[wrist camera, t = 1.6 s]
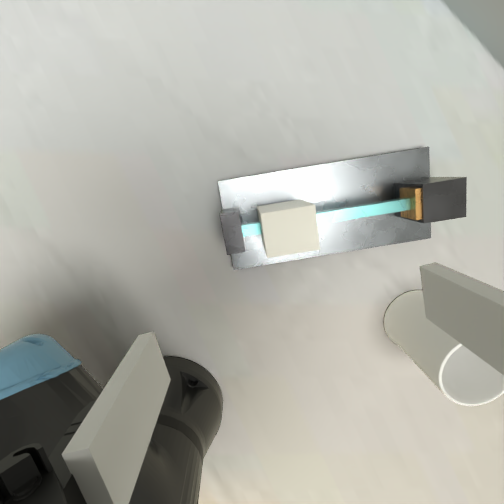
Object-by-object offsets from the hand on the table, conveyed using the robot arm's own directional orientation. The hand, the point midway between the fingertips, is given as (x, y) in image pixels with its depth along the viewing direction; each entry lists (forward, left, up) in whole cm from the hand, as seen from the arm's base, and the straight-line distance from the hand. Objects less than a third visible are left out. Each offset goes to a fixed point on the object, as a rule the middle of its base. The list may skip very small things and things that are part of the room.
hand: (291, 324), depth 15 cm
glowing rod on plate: (+8, +2, -25) cm, 26 cm away
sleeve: (+2, +2, -21) cm, 22 cm away
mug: (+20, -14, -25) cm, 35 cm away
